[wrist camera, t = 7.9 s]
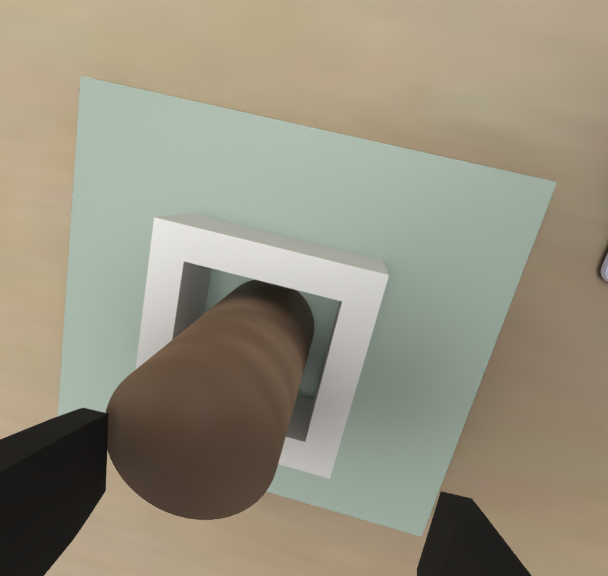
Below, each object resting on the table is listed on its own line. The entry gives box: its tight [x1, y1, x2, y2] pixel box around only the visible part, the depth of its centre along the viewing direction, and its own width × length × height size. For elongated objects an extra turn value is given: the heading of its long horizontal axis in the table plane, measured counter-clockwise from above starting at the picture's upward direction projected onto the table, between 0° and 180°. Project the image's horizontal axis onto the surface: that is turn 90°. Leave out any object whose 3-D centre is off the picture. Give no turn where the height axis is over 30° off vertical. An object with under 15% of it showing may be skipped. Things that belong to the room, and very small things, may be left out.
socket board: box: [58, 76, 557, 537], centre depth 15 cm, size 18×16×4 cm
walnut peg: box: [106, 280, 314, 520], centre depth 12 cm, size 4×4×8 cm
